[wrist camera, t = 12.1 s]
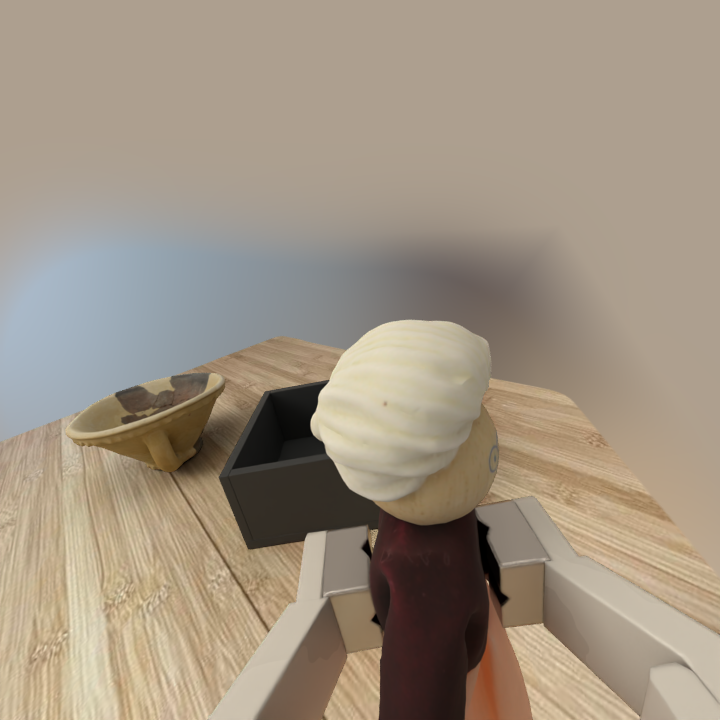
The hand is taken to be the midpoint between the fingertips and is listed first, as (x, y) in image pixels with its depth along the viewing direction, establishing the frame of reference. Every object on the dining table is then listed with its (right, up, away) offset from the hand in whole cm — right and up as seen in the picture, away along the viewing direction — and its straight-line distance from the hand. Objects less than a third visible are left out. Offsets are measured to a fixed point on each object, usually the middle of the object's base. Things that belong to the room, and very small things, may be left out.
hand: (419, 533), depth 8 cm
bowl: (-27, -9, +38) cm, 48 cm away
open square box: (-4, -8, +28) cm, 30 cm away
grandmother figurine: (+2, -7, +2) cm, 7 cm away
